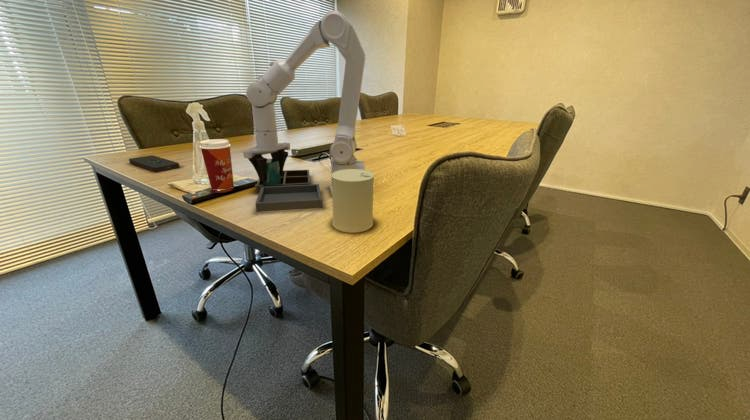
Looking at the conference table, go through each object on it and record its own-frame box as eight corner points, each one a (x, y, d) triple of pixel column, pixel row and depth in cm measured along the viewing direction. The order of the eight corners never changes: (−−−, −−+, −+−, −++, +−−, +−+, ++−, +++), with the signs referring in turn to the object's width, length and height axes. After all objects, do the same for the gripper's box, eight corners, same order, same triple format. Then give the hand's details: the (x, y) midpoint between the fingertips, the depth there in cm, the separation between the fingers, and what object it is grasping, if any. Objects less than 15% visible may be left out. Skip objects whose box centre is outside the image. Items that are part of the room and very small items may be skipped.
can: (369, 234, 64) (370, 180, 59) (327, 230, 65) (324, 177, 60) (376, 217, 72) (377, 168, 68) (338, 213, 74) (337, 165, 69)
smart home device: (153, 167, 100) (127, 158, 110) (155, 172, 101) (128, 163, 110) (180, 162, 107) (152, 154, 116) (181, 167, 107) (153, 159, 117)
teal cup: (281, 184, 92) (279, 158, 89) (281, 189, 87) (278, 162, 84) (263, 185, 91) (260, 158, 87) (261, 190, 86) (258, 163, 83)
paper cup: (226, 196, 82) (217, 144, 77) (201, 193, 84) (191, 142, 78) (243, 187, 90) (236, 139, 84) (220, 185, 91) (212, 137, 85)
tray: (319, 192, 87) (319, 184, 86) (322, 209, 76) (322, 199, 75) (262, 195, 84) (261, 186, 83) (256, 213, 73) (255, 203, 72)
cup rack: (309, 176, 101) (308, 169, 100) (310, 191, 88) (310, 183, 87) (262, 178, 98) (261, 171, 97) (257, 193, 85) (255, 185, 84)
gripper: (276, 126, 90) (281, 170, 95) (232, 131, 79) (240, 181, 84) (293, 128, 87) (297, 174, 92) (250, 134, 75) (257, 186, 81)
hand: (271, 178), depth 88 cm, fingers closed on teal cup, 5 cm apart
